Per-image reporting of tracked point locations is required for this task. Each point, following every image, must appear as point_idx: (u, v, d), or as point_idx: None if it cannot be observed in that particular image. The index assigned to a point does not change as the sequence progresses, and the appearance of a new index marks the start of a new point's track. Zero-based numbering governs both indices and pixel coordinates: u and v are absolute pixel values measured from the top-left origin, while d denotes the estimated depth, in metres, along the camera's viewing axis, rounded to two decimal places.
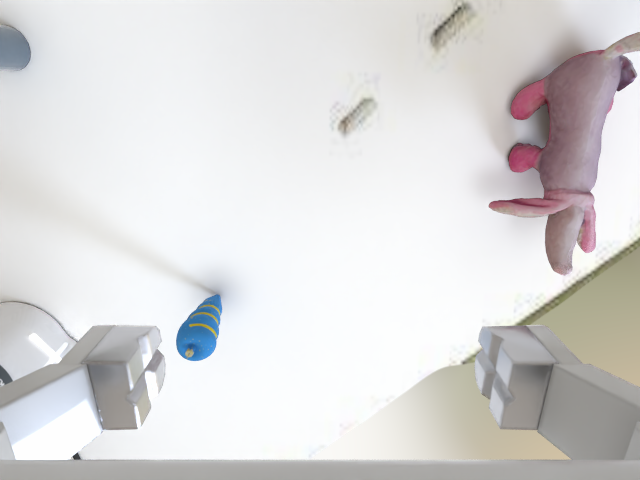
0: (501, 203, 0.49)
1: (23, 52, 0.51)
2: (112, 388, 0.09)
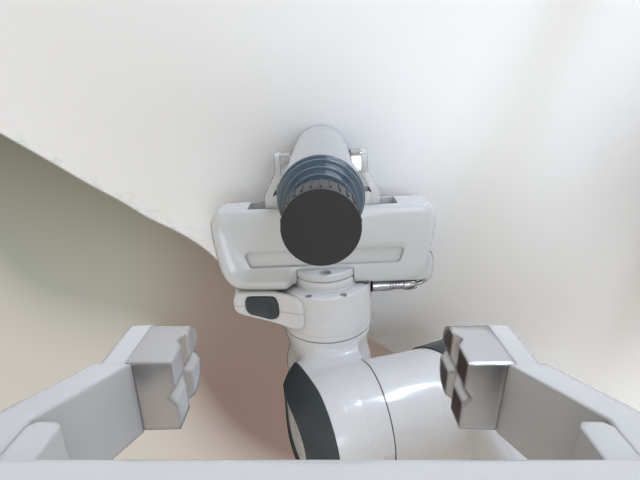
0: None
1: (319, 126, 0.39)
2: (155, 388, 0.09)
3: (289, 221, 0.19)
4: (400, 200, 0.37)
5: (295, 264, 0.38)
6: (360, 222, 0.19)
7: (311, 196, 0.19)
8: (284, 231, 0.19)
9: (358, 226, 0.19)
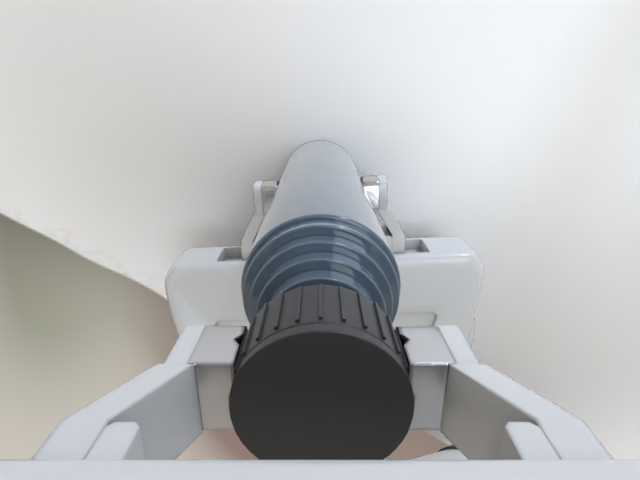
0: None
1: (318, 142, 0.28)
2: (216, 388, 0.09)
3: (249, 397, 0.08)
4: (432, 247, 0.26)
5: None
6: (411, 399, 0.08)
7: (299, 347, 0.08)
8: (239, 415, 0.09)
9: (406, 406, 0.08)
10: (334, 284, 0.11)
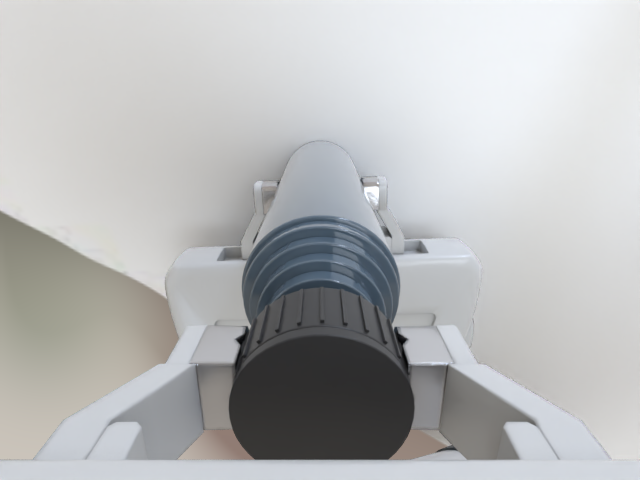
0: None
1: (318, 143, 0.28)
2: (217, 388, 0.09)
3: None
4: (432, 248, 0.26)
5: None
6: (318, 338, 0.08)
7: (244, 422, 0.09)
8: None
9: (328, 342, 0.08)
10: (334, 284, 0.11)
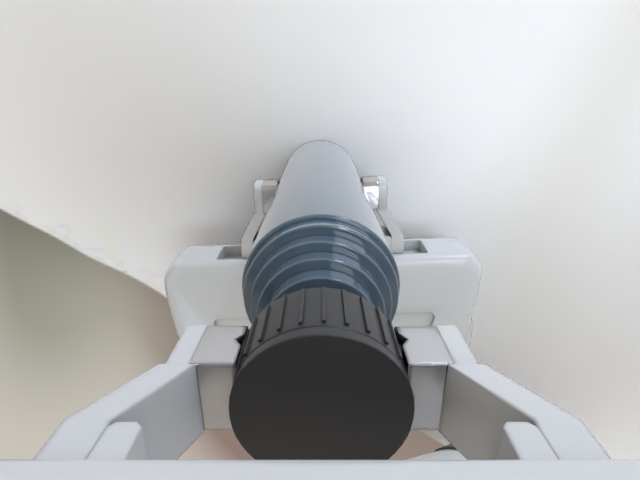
0: None
1: (318, 142, 0.28)
2: (217, 388, 0.09)
3: (383, 442, 0.09)
4: (431, 248, 0.27)
5: None
6: (230, 407, 0.08)
7: None
8: (402, 426, 0.09)
9: (237, 399, 0.08)
10: (334, 283, 0.11)
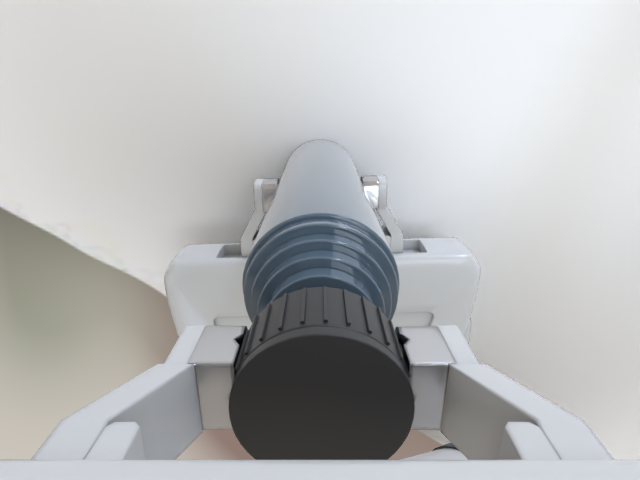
0: None
1: (319, 141, 0.29)
2: (216, 388, 0.09)
3: (368, 366, 0.08)
4: (430, 247, 0.27)
5: None
6: None
7: (398, 422, 0.09)
8: (351, 346, 0.08)
9: None
10: (334, 281, 0.11)
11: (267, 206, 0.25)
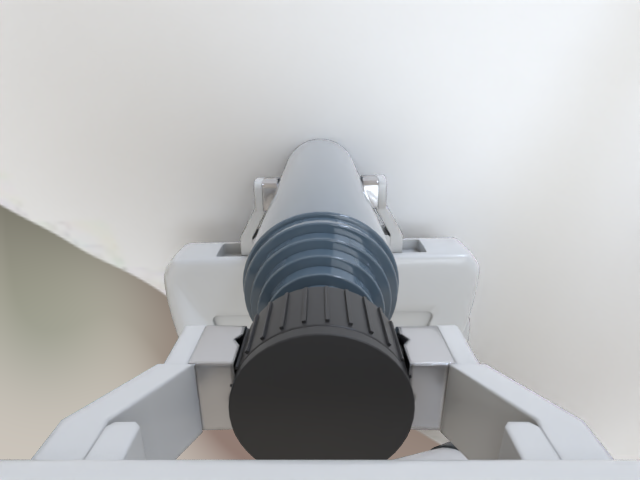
0: None
1: (319, 141, 0.29)
2: (216, 388, 0.09)
3: (267, 370, 0.08)
4: (430, 247, 0.27)
5: None
6: (403, 439, 0.09)
7: (344, 349, 0.08)
8: (244, 382, 0.08)
9: (394, 443, 0.09)
10: (334, 280, 0.11)
11: (267, 205, 0.25)
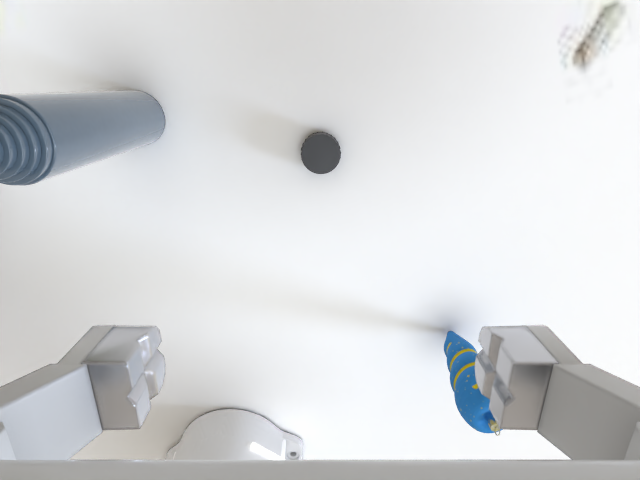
0: None
1: (159, 115, 0.40)
2: (112, 388, 0.09)
3: (308, 163, 0.41)
4: None
5: None
6: (330, 137, 0.40)
7: (305, 147, 0.40)
8: (310, 168, 0.41)
9: (331, 139, 0.40)
10: (7, 151, 0.22)
11: None
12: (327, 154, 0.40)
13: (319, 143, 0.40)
